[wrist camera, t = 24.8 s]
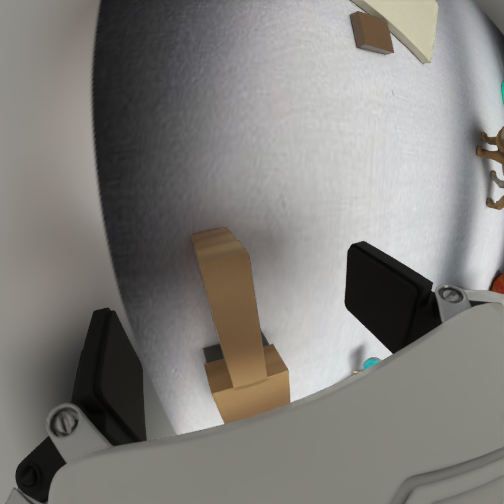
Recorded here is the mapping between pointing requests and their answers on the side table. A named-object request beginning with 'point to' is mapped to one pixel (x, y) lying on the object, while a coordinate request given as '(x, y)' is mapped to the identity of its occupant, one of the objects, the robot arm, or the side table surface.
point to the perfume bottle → (369, 363)
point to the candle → (503, 91)
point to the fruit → (498, 285)
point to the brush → (237, 332)
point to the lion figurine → (500, 155)
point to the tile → (408, 22)
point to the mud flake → (371, 33)
